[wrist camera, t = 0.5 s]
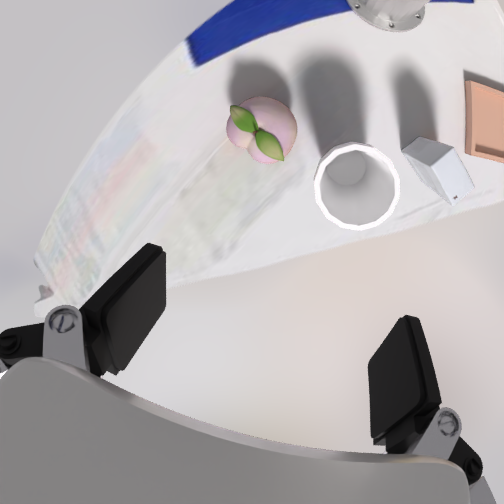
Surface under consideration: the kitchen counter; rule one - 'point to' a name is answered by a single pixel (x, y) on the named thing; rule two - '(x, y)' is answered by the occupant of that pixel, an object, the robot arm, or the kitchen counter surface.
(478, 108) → the tray
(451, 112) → the kitchen counter surface
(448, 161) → the skincare box
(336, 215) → the foam cup
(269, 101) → the decorative fruit
